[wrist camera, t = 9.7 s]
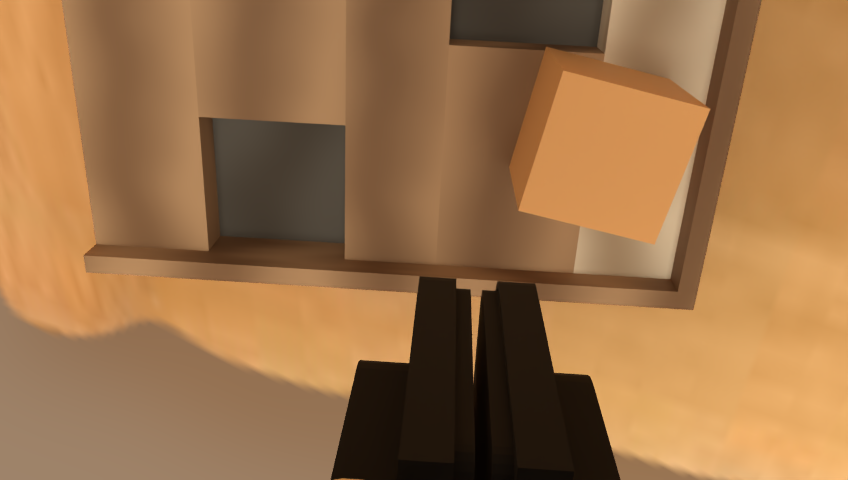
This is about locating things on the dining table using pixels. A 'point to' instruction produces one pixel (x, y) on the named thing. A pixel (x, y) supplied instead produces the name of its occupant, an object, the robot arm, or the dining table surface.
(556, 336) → the dining table surface
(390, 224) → the box
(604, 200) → the orange block
